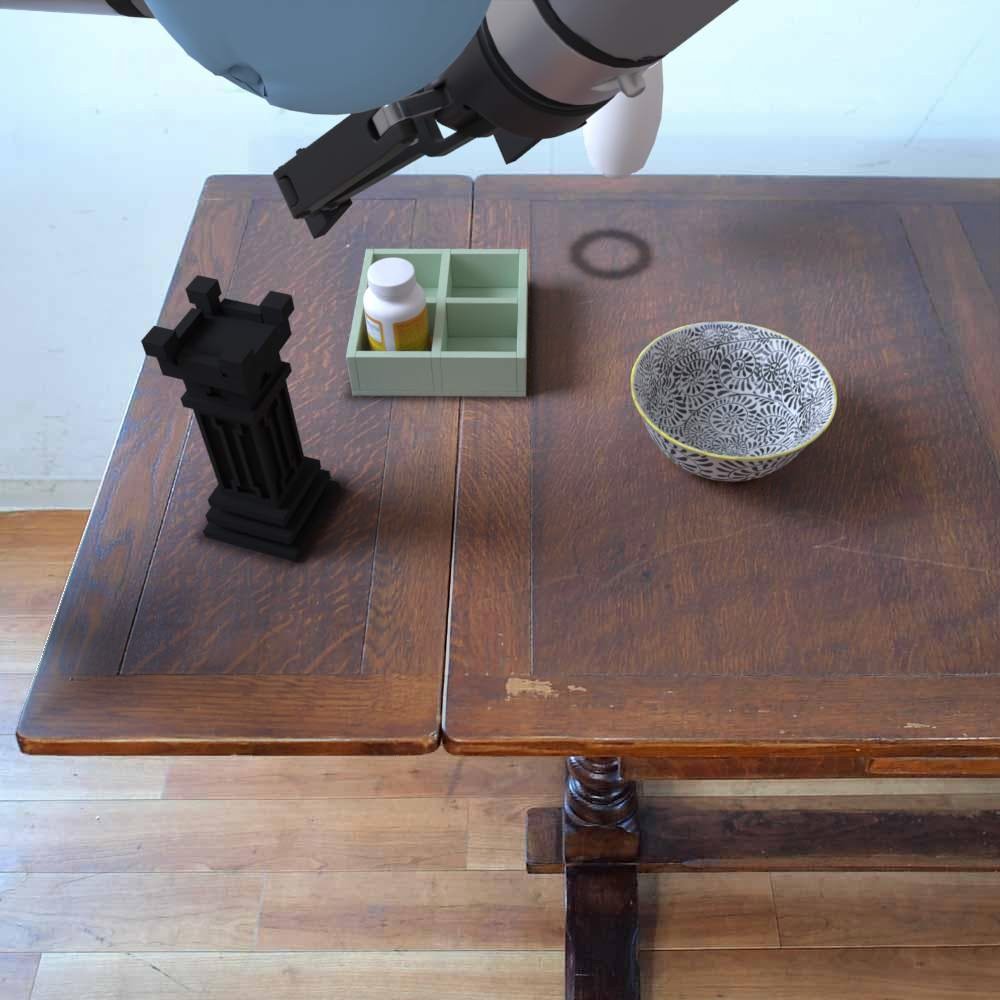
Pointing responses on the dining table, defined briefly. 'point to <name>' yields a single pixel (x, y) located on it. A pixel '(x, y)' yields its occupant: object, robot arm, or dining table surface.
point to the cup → (626, 128)
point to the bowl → (731, 398)
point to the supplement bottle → (395, 308)
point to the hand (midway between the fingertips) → (409, 177)
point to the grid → (452, 327)
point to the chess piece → (246, 419)
